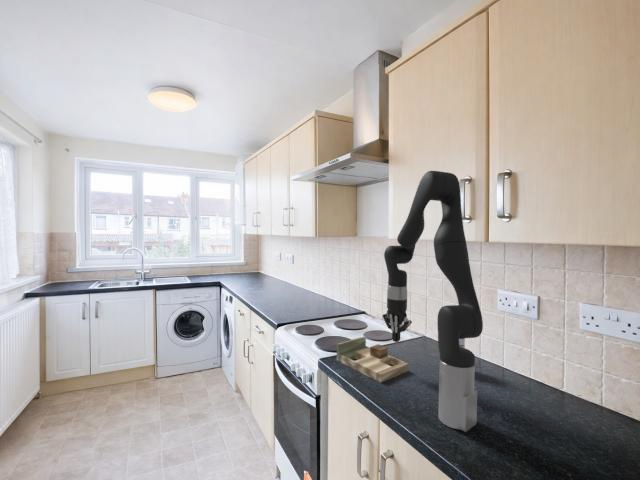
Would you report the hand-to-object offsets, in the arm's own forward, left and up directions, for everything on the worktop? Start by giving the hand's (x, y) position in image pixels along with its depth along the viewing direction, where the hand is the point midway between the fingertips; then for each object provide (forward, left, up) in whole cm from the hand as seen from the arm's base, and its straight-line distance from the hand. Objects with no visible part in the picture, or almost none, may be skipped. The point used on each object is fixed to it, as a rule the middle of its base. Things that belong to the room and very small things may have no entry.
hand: (396, 341), depth 121 cm
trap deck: (+8, +4, -12) cm, 15 cm away
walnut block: (+9, 0, -9) cm, 13 cm away
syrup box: (-13, -20, -12) cm, 27 cm away
